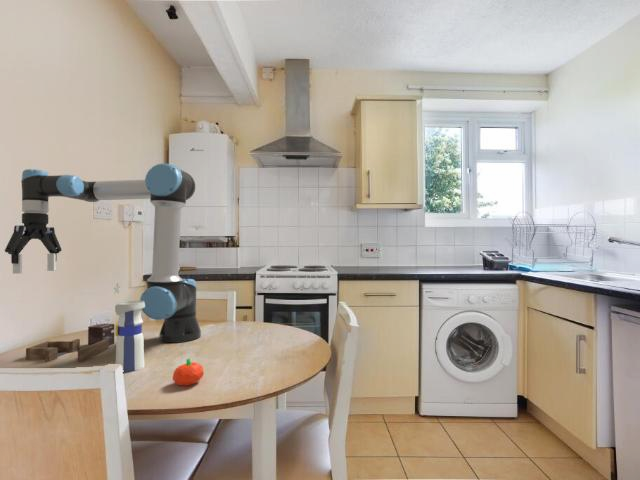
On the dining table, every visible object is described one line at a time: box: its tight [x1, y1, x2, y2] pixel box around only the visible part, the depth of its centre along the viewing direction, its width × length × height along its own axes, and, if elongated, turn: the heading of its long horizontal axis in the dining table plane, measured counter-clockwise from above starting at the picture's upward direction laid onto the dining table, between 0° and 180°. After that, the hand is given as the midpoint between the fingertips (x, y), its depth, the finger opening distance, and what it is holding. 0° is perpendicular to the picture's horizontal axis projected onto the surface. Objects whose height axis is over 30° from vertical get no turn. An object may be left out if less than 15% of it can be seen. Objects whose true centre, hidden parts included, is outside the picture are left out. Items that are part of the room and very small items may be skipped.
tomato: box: [172, 358, 205, 386], centre depth 93 cm, size 7×8×6 cm
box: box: [87, 323, 115, 347], centre depth 130 cm, size 6×6×7 cm
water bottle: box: [113, 282, 145, 373], centre depth 105 cm, size 8×9×25 cm
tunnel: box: [25, 338, 110, 363], centre depth 118 cm, size 20×14×4 cm
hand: (35, 272), depth 128 cm, fingers open, 13 cm apart
